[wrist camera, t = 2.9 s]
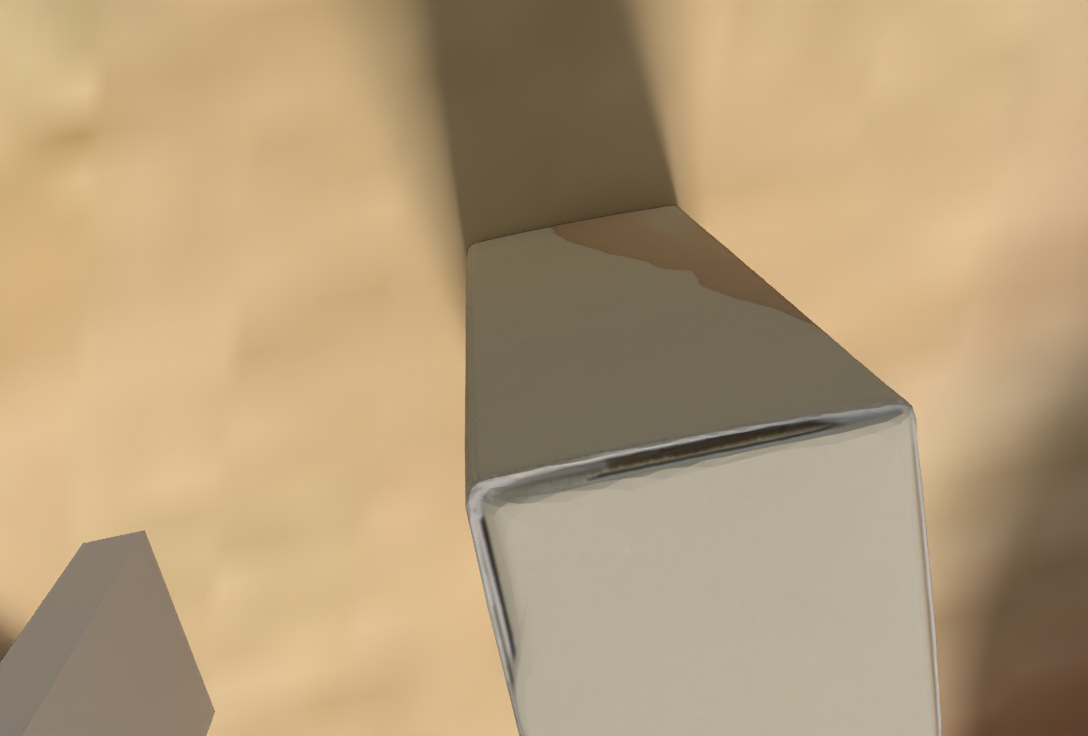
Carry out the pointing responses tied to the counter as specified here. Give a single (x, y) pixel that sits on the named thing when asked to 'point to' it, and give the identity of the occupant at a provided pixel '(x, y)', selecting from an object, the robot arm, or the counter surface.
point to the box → (687, 496)
